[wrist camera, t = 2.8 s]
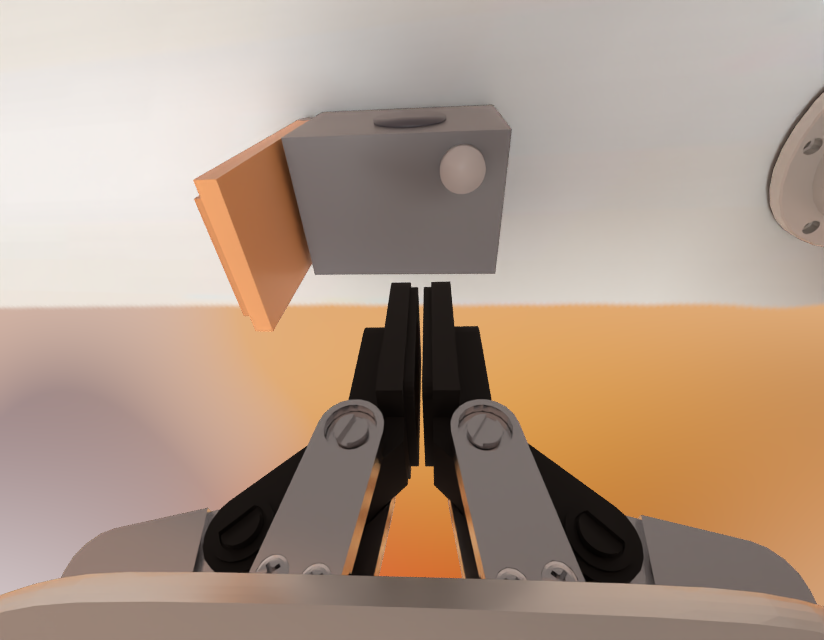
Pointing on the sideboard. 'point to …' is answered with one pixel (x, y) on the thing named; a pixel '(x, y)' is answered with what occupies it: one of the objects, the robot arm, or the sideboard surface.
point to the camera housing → (401, 189)
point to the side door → (257, 227)
